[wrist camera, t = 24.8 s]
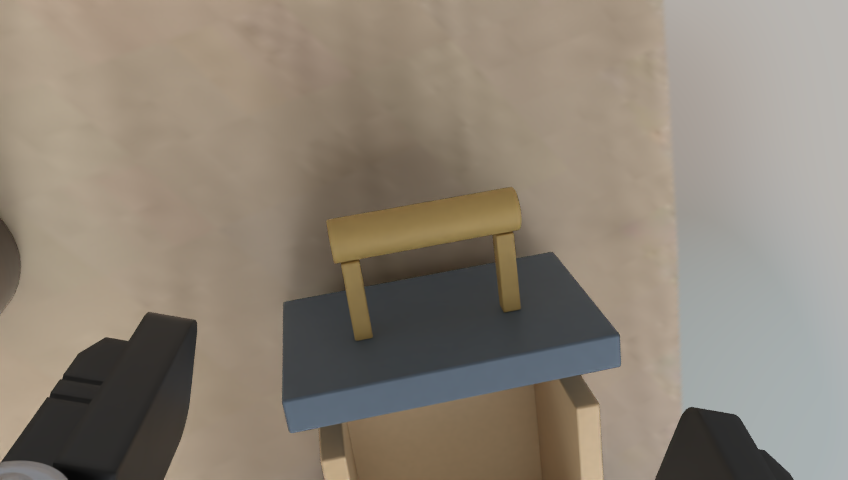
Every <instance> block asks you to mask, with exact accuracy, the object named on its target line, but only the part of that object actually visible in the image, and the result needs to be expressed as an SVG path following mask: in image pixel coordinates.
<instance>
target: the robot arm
mask: <svg viewBox="0 0 848 480" xmlns="http://www.w3.org/2000/svg"><path fill="white" fill-rule="evenodd" d="M196 337H197V322H196V320H193V319H187V318H181V317H175V316H169V315H164V314H158V313H152V312H148V313H147V314H146V315H145V316H144V318H143V319H142V321H141V322H140V324H139V326H138V327H137V329H136V330H135V332H134V334H133V335H132V337H131V338H130V340H129V341H124V340H118V339H112V338H107V337H106V338H104V339H102V340H100V341H99V342H97V343H95V344H94V345H92V346H90V347H89V348H87V349H85V350H84V351H82V352H80V353H79V354H78V355H77V357H76V358H75V359H74V361H73V362H72V364H71V365H70V366H69V368H68V369H67V371H66V372H65V373H64V375H63V379H62V380H61V379H60V380H59V382H58V383H57V385H56V386H55V387H54V389H53V390H52V392H51V394H50V397H49V398H48V397H47V399H46V400H45V401H44V403H43V404H42V406H41V407H40V408H39V410H38V411H37V413H36V414H35V415H34V417H33V418H32V420H31V421H30V422H29V424H28V425H27V427H26V428H25V429H24V431H23V432H22V434H21V435H20V436H19V438H18V439H17V441H16V442H15V443H14V445H13V446H12V448H11V449H10V450H9V452H8V453H7V455H6V456H5V457H4V459H3V460H2V462H0V480H164V478H165V475H166V473H167V470H168V468H169V466H170V463H171V461H172V459H173V456H174V454H175V452H176V449H177V447H178V445H179V442H180V440H181V437H182V434H183V430H184V427H185V423H186V419H187V414H188V409H189V403H190V394H191V384H192V375H193V365H194V356H195V346H196ZM655 480H793V478H792V476H791V475H790V473H789V472H787V471H786V470H785V469H784V468H783V467H782V466H781V465H780V464H779V463H778V462H777V461H776V460H775V459H773V458H772V457H771V456H770V455H769V454H768V453H767V452H766V451H765V450H760V449H758V448H757V446H756V444H755V443H754V441H753V439H752V438H751V436H750V434H749V433H748V431H747V429H746V428H745V426H744V424H743V422H742V421H741V419H740V418H739V417H738V416H736V415H734V414H729V413H723V412H717V411H712V410H705V409H700V408H694V407H690V408H688V409H686V410H685V412H684V413H683V414H682V416H681V418H680V420H679V423H678V425H677V428H676V430H675V432H674V435H673V437H672V440H671V442H670V444H669V447H668V449H667V452H666V454H665V457H664V459H663V461H662V464H661V466H660V469H659V471H658V474H657V476H656V479H655Z"/></svg>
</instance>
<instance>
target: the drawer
mask: <svg viewBox="0 0 848 480" xmlns="http://www.w3.org/2000/svg"><path fill="white" fill-rule="evenodd" d="M326 223H327V230H328V236H329V241H330V247H331V252H332V257H333V261H334V263H335V264H336V263H341V268H342V274H343V279H344V284H345V291H340V292H334V293H329V294H324V295H318V296H313V297H307V298H302V299H297V300H291V301H286V302H284V303H283V368H282V404H283V408H284V413H285V417H286V421H287V425H288V430H289V432H290V433H296V432H301V431H305V430H310V429H315V428H319V445H320V461H321V466H322V471H323V475H324V480H604V479H603V461H602V442H601V424H600V406H599V403H598V401H597V400H596V398H595V397H594V395H593V393H592V392H591V390H590V389H589V387H588V386H587V384H586V383H585V381H584V380H583V378H582V377H581V375H582V374H586V373H591V372H596V371H601V370H606V369H611V368H616V367H620V366H621V354H620V335H619V333H618V332H617V331H616V329H615V328H614V327H613V326H612V325H611V323H610V322H609V321H608V320H607V318H606V317H605V316H604V315H603V313H602V312H601V311H600V310H599V308H598V307H597V306H596V305H595V303H594V302H593V301H592V300H591V298H590V297H589V296H588V295H587V294H586V292H585V291H584V290H583V289H582V287H581V286H580V285H579V284H578V282H577V281H576V280H575V279H574V277H573V276H572V275H571V274H570V272H569V271H568V270H567V269H566V267H565V266H564V265H563V264H562V263H561V261H560V260H559V259H558V258H557V256H556V255H555V254H554V253H553V252H548V253H543V254H538V255H532V256H527V257H521V258H516V252H515V241H514V233H513V232H512V231H516V230H519V229H520V228H521V209H520V204H519V200H518V196H517V194H516V192H515V190H514V188H513V187H508V188H502V189H496V190H491V191H485V192H480V193H474V194H468V195H463V196H457V197H451V198H446V199H440V200H435V201H429V202H423V203H418V204H412V205H407V206H401V207H395V208H390V209H384V210H378V211H373V212H367V213H362V214H356V215H350V216H345V217H339V218H334V219H328V220H327V221H326ZM489 235H492V236H493V245H494V255H495V263H489V264H484V265H479V266H473V267H468V268H463V269H457V270H452V271H447V272H441V273H436V274H431V275H425V276H420V277H414V278H409V279H404V280H398V281H393V282H388V283H382V284H377V285H372V286H366V287H364V283H363V277H362V272H361V266H360V261H359V259H363V258H369V257H374V256H380V255H385V254H391V253H396V252H402V251H407V250H412V249H418V248H423V247H429V246H434V245H440V244H445V243H451V242H456V241H461V240H467V239H472V238H478V237H483V236H489Z"/></svg>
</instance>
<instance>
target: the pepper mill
mask: <svg viewBox="0 0 848 480" xmlns="http://www.w3.org/2000/svg"><path fill="white" fill-rule="evenodd" d="M19 278H20V257H19V252H18V249H17V245H16V243H15V241H14V238H13V236H12V234H11V233H10V231H9V229H8V228H7V226H6V225H5V224H4V223H3V221H2V220H1V219H0V314H1V313H2V312H3V310H4V309H5V307H6V306H7V305H8V303H9V302H10V301H11V299H12V297H13V295H14V294H15V292H16V289H17V286H18V283H19Z"/></svg>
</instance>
